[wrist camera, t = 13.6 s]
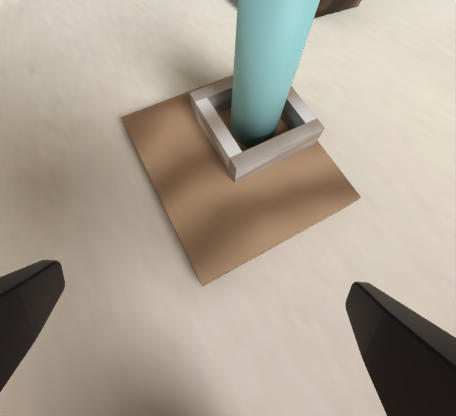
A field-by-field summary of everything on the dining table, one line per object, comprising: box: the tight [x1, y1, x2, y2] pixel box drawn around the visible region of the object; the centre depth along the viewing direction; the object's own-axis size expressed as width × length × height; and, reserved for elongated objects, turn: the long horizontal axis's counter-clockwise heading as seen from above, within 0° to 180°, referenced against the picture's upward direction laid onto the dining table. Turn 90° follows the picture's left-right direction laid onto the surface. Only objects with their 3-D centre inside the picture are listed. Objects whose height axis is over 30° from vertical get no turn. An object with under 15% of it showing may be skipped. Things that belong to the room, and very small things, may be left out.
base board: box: [121, 75, 361, 286], centre depth 23 cm, size 18×16×4 cm
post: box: [230, 0, 320, 147], centre depth 18 cm, size 4×4×13 cm
